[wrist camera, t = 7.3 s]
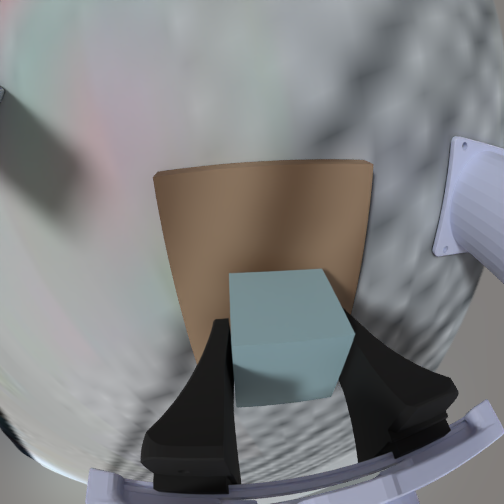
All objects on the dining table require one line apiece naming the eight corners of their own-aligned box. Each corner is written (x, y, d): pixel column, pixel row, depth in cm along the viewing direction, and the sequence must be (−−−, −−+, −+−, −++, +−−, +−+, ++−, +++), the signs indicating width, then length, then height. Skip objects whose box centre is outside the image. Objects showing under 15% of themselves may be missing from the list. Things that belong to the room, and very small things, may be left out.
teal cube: (322, 268, 13) (355, 334, 9) (310, 333, 16) (330, 396, 12) (228, 273, 13) (231, 346, 9) (232, 339, 15) (236, 407, 11)
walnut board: (364, 160, 13) (373, 164, 12) (334, 351, 20) (338, 361, 19) (157, 171, 12) (152, 176, 11) (201, 367, 19) (201, 378, 18)
